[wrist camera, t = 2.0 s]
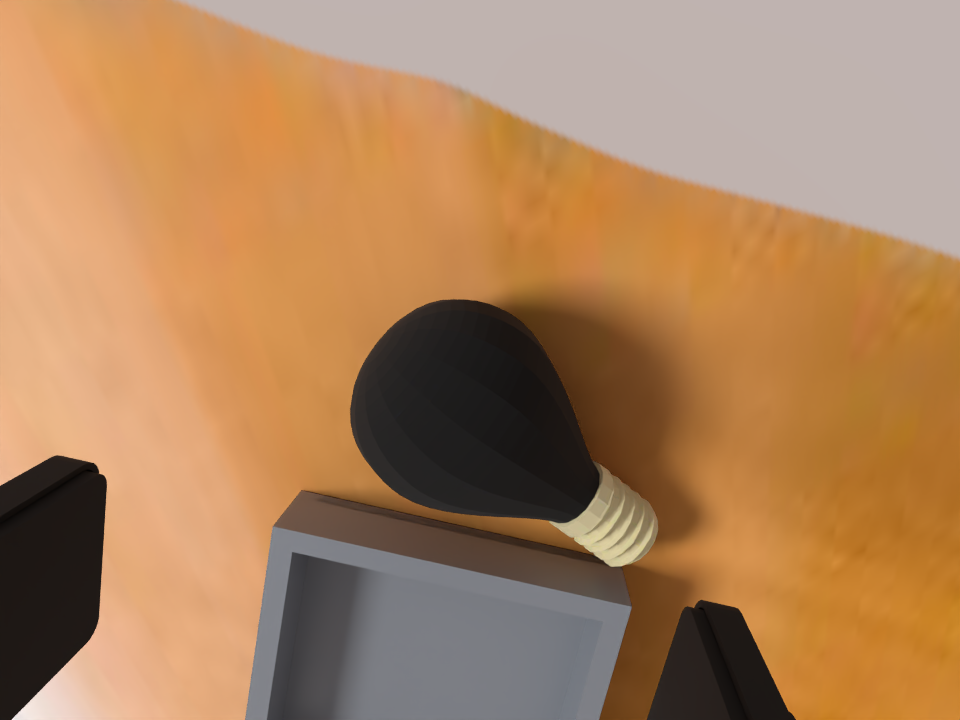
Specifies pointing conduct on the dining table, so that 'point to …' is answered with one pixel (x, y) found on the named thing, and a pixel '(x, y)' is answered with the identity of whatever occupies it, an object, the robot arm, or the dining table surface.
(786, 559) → the dining table surface
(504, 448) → the light bulb
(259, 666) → the parts tray
